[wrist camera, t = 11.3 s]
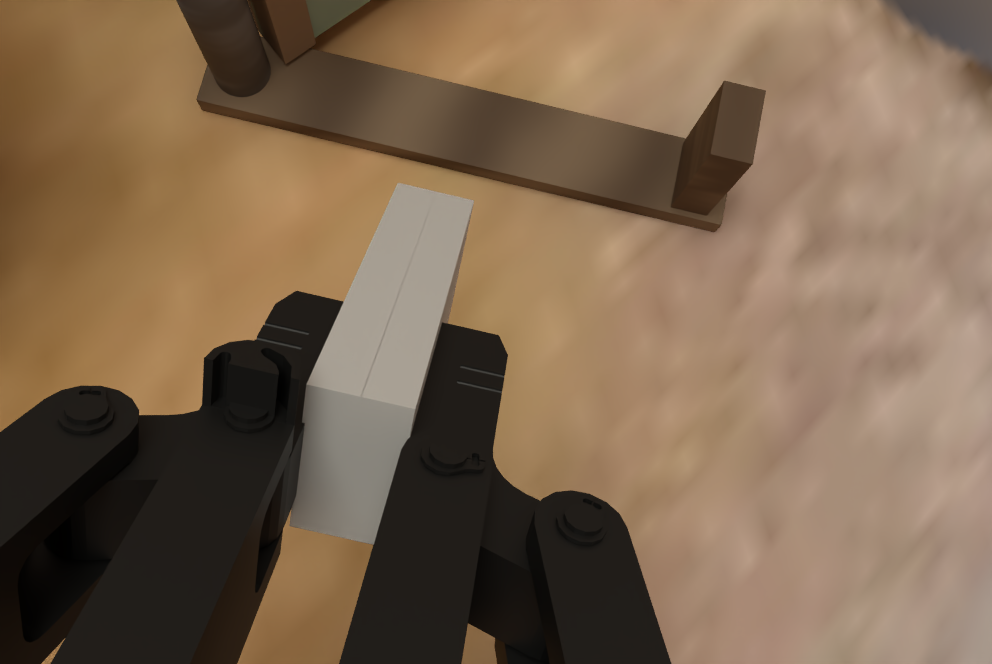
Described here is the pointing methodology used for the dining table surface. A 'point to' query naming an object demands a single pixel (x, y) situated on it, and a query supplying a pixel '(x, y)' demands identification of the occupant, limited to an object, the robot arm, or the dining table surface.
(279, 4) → the gate
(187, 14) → the gate frame
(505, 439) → the dining table surface
